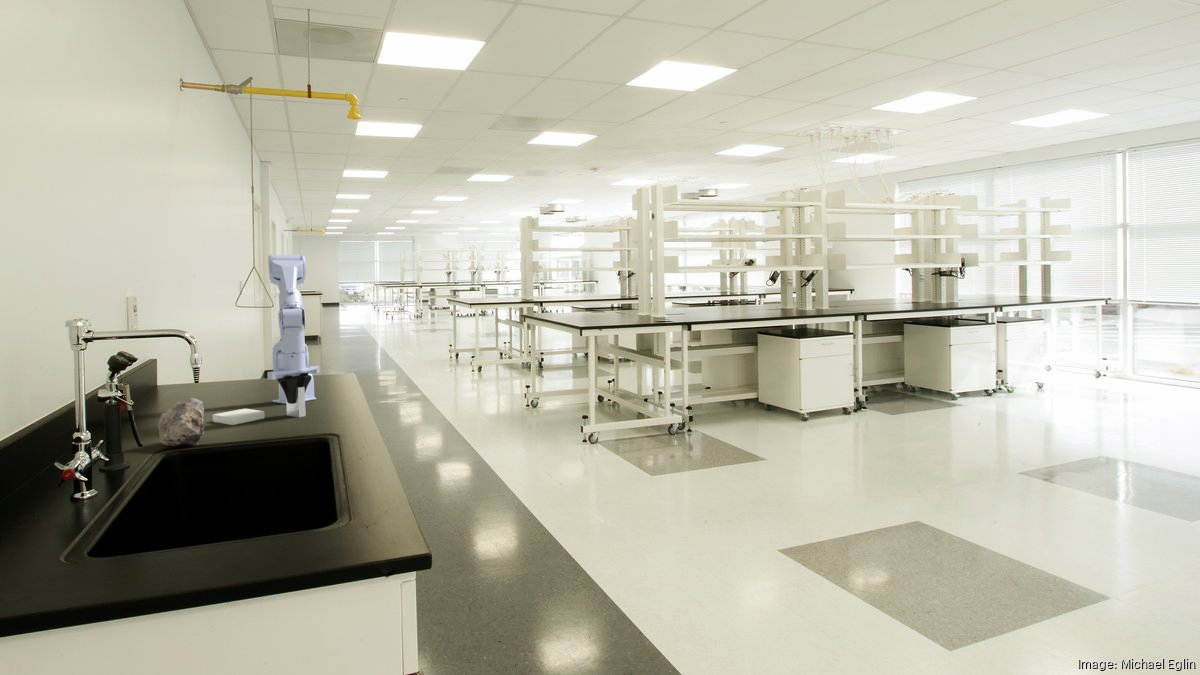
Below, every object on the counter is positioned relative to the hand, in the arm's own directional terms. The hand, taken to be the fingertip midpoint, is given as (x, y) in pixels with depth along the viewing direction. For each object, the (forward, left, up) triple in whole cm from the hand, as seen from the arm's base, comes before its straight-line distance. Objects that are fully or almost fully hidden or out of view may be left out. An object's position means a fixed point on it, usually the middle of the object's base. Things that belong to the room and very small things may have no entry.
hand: (295, 402), depth 176 cm
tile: (+6, -9, -3) cm, 11 cm away
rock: (+32, +3, -4) cm, 32 cm away
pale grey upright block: (0, 0, -4) cm, 4 cm away
